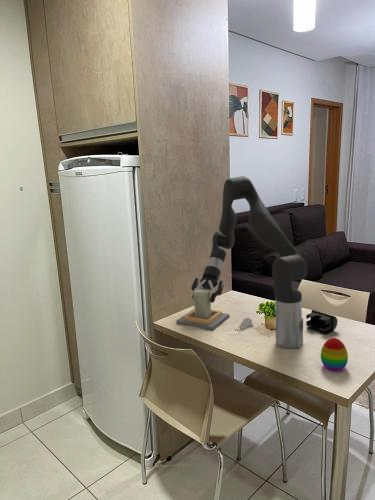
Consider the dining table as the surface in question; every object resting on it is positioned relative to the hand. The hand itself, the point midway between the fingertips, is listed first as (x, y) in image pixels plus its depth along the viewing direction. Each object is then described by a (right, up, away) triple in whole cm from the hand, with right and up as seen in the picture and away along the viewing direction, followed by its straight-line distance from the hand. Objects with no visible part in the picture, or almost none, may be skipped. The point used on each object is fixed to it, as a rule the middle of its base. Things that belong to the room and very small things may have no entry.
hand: (202, 300), depth 165 cm
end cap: (+47, -10, -14) cm, 50 cm away
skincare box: (0, -8, +2) cm, 8 cm away
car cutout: (+15, -11, -10) cm, 21 cm away
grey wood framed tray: (0, -9, +2) cm, 9 cm away
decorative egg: (+41, -16, -43) cm, 62 cm away
